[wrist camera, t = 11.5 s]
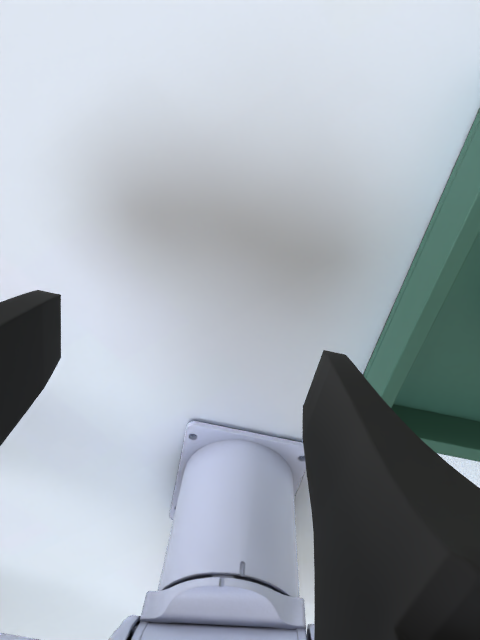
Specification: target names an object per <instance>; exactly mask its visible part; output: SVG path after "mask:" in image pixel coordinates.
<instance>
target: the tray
mask: <svg viewBox="0 0 480 640" xmlns="http://www.w3.org/2000/svg"><path fill="white" fill-rule="evenodd" d="M363 376H364V377H365V378H366V380H367V381H368V382H369V383H370V384H371V386H372V387H373V388H374V389H375V390H376V392H377V393H378V394H379V395H380V396H381V397H382V399H383V400H384V401H385V402H386V403H387V404H388V405H389V407H390V408H391V409H392V410H393V411H394V412H395V413H396V414H397V415H398V416H399V418H400V419H401V420H402V421H403V422H404V423H405V424H406V425H407V426H408V427H409V428H410V429H411V430H412V431H413V432H414V433H415V434H416V435H417V436H418V437H419V438H420V439H421V440H422V441H423V442H424V443H426V444H427V445H428V446H429V447H430V448H431V449H432V450H433V451H434V452H436V453H439V454H444V455H449V456H454V457H459V458H464V459H469V460H474V461H479V462H480V109H479V112H478V114H477V116H476V118H475V121H474V123H473V125H472V128H471V130H470V132H469V134H468V137H467V139H466V141H465V144H464V146H463V148H462V150H461V153H460V155H459V157H458V160H457V162H456V164H455V167H454V169H453V171H452V173H451V176H450V178H449V180H448V183H447V185H446V187H445V189H444V192H443V194H442V196H441V199H440V201H439V203H438V205H437V208H436V210H435V212H434V215H433V217H432V219H431V221H430V224H429V226H428V228H427V231H426V233H425V235H424V237H423V240H422V242H421V244H420V247H419V249H418V251H417V253H416V256H415V258H414V260H413V263H412V265H411V267H410V269H409V272H408V274H407V276H406V279H405V281H404V283H403V286H402V288H401V290H400V292H399V295H398V297H397V299H396V302H395V304H394V306H393V308H392V311H391V313H390V315H389V318H388V320H387V322H386V324H385V327H384V329H383V331H382V334H381V336H380V338H379V340H378V343H377V345H376V347H375V350H374V352H373V354H372V356H371V359H370V361H369V363H368V366H367V368H366V370H365V372H364V375H363Z"/></svg>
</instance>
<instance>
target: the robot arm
mask: <svg viewBox="0 0 480 640" xmlns="http://www.w3.org/2000/svg"><path fill="white" fill-rule="evenodd" d="M60 358H61V295H59V294H54V293H49V292H45V291H40V290H36V291H32V292H29V293H26V294H22V295H20V296H17V297H14V298H11V299H8V300H6V301H3V302H0V446H1V444H2V443H3V442H4V440H5V439H6V438H7V437H8V435H9V434H10V433H11V431H12V430H13V429H14V427H15V426H16V425H17V423H18V422H19V421H20V419H21V418H22V417H23V415H24V414H25V413H26V412H27V410H28V409H29V408H30V406H31V405H32V404H33V402H34V401H35V399H36V398H37V397H38V395H39V394H40V393H41V391H42V390H43V389H44V387H45V385H46V384H47V382H48V380H49V378H50V377H51V375H52V373H53V371H54V369H55V367H56V365H57V364H58V362H59V360H60ZM191 434H195V435H191ZM300 456H304V457H300ZM305 470H307V478H308V486H309V493H310V501H311V509H312V518H313V530H314V566H315V624H308V627H307V636H306V622H305V607H304V599H303V598H300V597H299V579H298V561H297V543H296V524H295V506H294V497H295V495H296V492H297V490H298V487H299V485H300V483H301V480H302V478H303V475H304V473H305ZM169 517H170V518H171V519H172V520H173V524H172V528H171V533H170V537H169V542H168V546H167V551H166V555H165V560H164V564H163V569H162V573H161V578H160V582H159V587H158V591H148V592H147V593H146V597H145V601H144V606H143V610H142V614H141V616H136V615H132V616H129V617H127V618H126V619H125V620H124V621H123V622H122V623H121V625H120V626H119V628H118V629H117V630H116V631H115V632H114V633H113V634H112V635H111V637H110V638H109V640H480V488H478V487H477V486H476V485H475V484H473V483H472V482H471V481H469V480H468V479H467V478H466V477H464V476H463V475H462V474H460V473H459V472H458V471H457V470H455V469H454V468H453V467H452V466H451V465H449V464H448V463H447V462H446V461H445V460H443V459H442V458H441V457H440V456H439V455H438V454H437V453H436V452H434V451H433V450H432V449H431V448H430V447H429V446H428V445H427V444H426V443H424V442H423V441H422V440H421V439H420V438H419V437H418V436H417V435H416V434H415V433H414V432H413V431H412V430H411V429H410V428H409V427H408V426H407V425H406V424H405V423H404V422H403V421H402V420H401V419H400V418H399V416H398V415H397V414H396V413H395V412H394V411H393V410H392V409H391V408H390V407H389V405H388V404H387V403H386V402H385V401H384V400H383V399H382V397H381V396H380V395H379V394H378V393H377V392H376V390H375V389H374V388H373V387H372V386H371V384H370V383H369V382H368V381H367V380H366V378H365V377H364V376H363V375H362V373H361V372H360V371H359V370H358V369H357V367H356V366H355V365H354V364H353V363H352V361H351V360H350V359H349V358H348V357H347V356H346V355H344V354H339V353H334V352H330V351H325V350H324V351H323V354H322V356H321V359H320V362H319V364H318V367H317V370H316V373H315V375H314V378H313V381H312V384H311V386H310V389H309V392H308V395H307V397H306V400H305V403H304V405H303V443H302V442H297V441H292V440H287V439H282V438H277V437H272V436H267V435H262V434H257V433H252V432H247V431H242V430H237V429H232V428H227V427H222V426H217V425H212V424H207V423H202V422H197V421H192V422H189V423H188V425H187V428H186V432H185V438H184V443H183V448H182V453H181V458H180V463H179V468H178V474H177V479H176V484H175V489H174V494H173V499H172V504H171V509H170V515H169ZM0 640H39V639H33V638H27V637H21V636H15V635H10V634H4V633H0Z"/></svg>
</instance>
